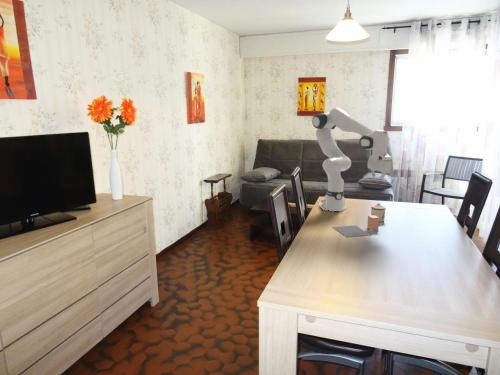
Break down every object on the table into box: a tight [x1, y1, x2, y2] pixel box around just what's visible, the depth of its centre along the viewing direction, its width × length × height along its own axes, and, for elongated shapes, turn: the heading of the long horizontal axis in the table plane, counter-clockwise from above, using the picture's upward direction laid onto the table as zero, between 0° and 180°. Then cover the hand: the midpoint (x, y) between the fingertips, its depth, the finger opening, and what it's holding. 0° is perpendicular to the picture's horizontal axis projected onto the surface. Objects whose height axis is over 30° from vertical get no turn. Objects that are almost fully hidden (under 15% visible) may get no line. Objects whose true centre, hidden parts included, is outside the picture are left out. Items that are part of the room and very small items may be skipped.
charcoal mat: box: [332, 225, 372, 238], centre depth 210 cm, size 18×16×1 cm
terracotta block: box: [366, 214, 380, 231], centre depth 214 cm, size 5×4×8 cm
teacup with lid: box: [370, 202, 386, 223], centre depth 233 cm, size 12×9×12 cm
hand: (377, 177), depth 222 cm, fingers open, 8 cm apart
